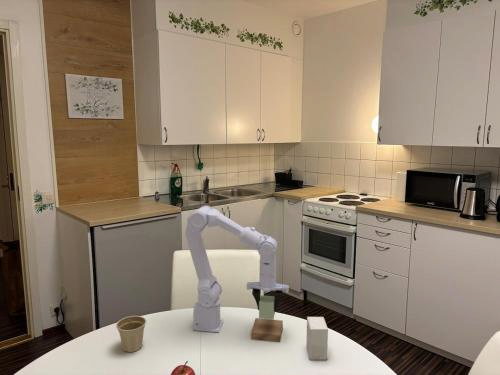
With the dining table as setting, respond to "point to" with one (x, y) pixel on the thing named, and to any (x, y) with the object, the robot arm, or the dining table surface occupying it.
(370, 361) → the dining table surface
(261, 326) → the walnut pad
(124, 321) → the flower pot
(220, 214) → the robot arm
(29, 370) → the dining table surface
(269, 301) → the sage block
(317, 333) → the small box
